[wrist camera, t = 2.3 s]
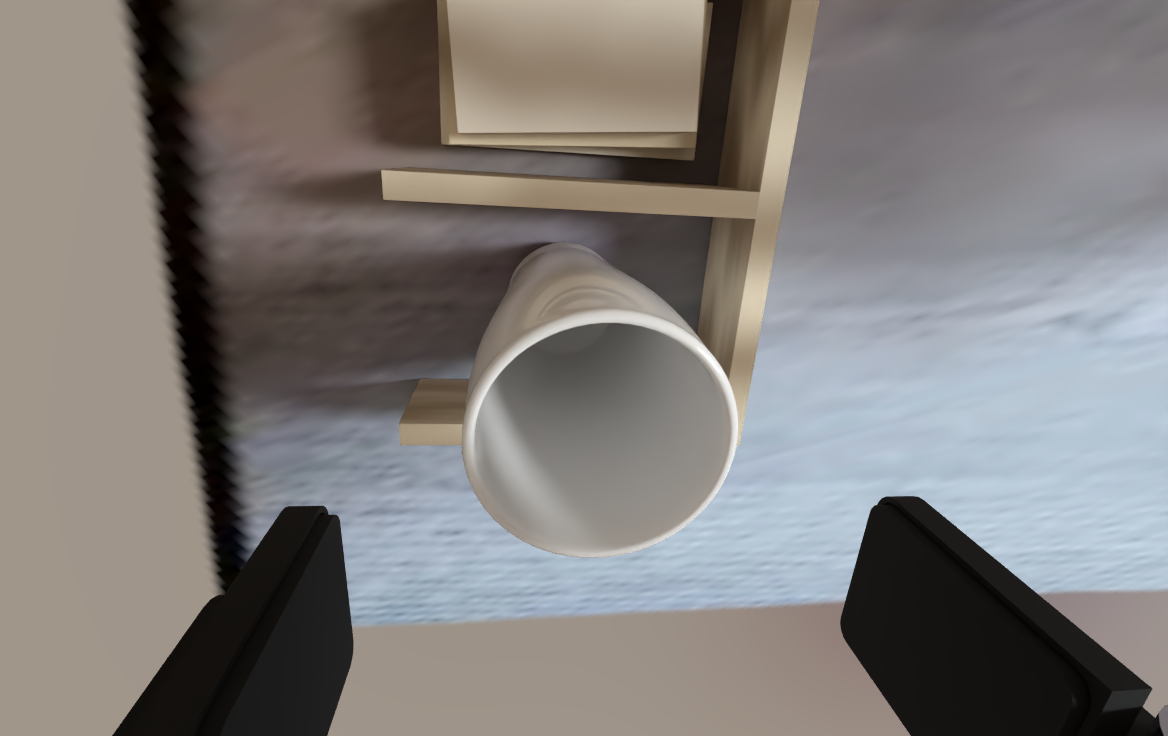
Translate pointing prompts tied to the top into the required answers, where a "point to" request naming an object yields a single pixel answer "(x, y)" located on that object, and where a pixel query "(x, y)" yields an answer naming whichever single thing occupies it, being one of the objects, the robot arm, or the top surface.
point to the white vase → (593, 410)
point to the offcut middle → (552, 139)
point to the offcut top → (576, 65)
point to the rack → (668, 206)
